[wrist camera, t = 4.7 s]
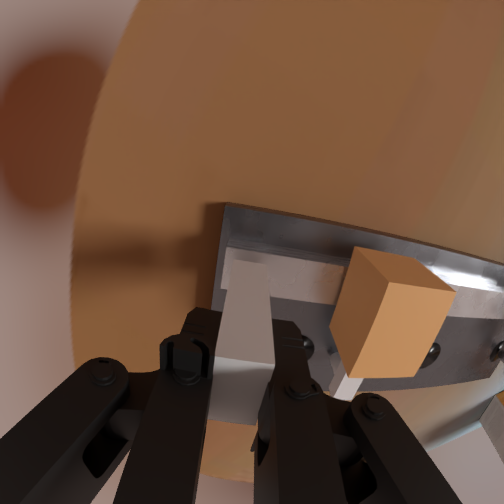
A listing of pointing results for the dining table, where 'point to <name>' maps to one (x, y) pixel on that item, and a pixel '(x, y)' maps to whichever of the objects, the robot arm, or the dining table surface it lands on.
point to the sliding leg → (384, 319)
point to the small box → (495, 422)
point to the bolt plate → (318, 316)
